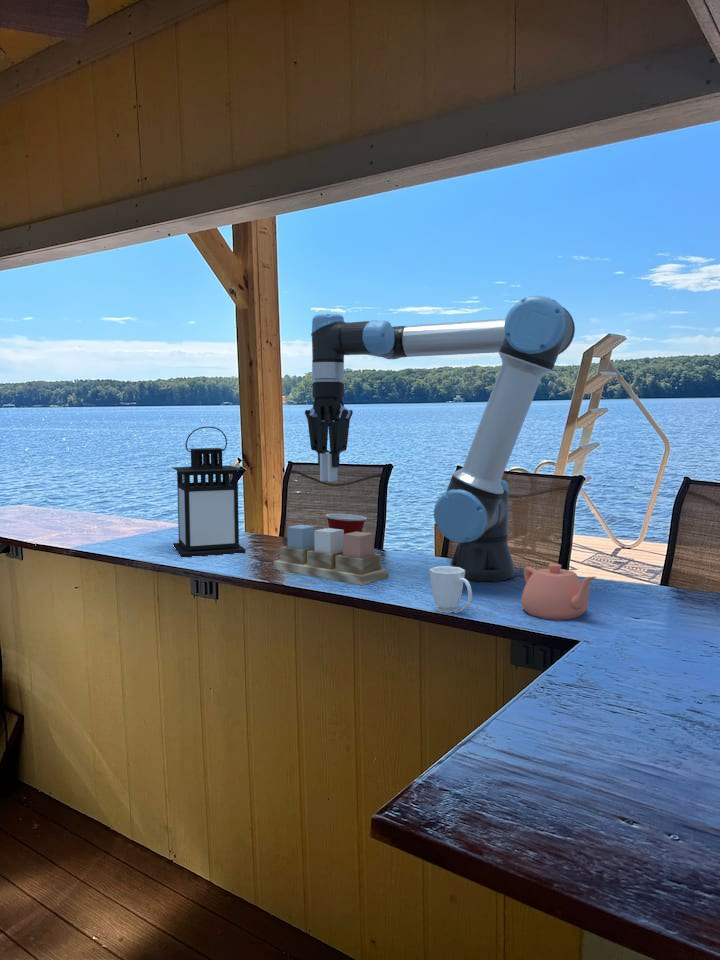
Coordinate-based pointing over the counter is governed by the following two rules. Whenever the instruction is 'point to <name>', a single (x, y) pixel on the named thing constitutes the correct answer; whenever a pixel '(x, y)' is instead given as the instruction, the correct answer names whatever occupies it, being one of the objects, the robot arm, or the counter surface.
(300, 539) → the slate key
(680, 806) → the counter surface
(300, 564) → the beige slotted block
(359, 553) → the terracotta key
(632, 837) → the counter surface
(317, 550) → the ivory key
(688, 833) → the counter surface
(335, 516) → the plastic cup
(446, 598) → the cup
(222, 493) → the lantern
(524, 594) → the teapot
